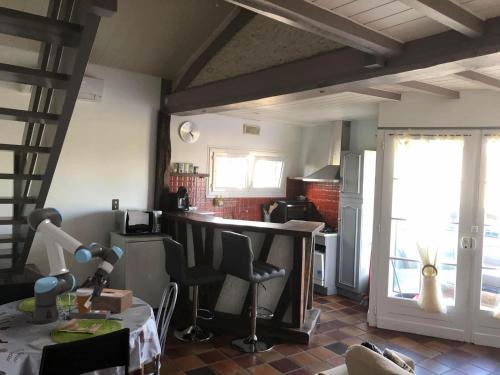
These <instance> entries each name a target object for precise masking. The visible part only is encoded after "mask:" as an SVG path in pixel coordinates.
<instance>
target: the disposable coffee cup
mask: <svg viewBox="0 0 500 375" xmlns="http://www.w3.org/2000/svg"><path fill="white" fill-rule="evenodd" d="M77 289H78V288H77ZM77 289H76V291H75V296H76V295H77V309H78V312H79V313H88V312H90V311H91V305H92V303H91V304H90V305H89V307H88V308H86V307H85V306H84V304H85V303H86V301H87V300H88V299H89V297H90V296H91V295H92V294H93V289H94V288H92V287H90V288H81V289H78V290H77ZM92 296H93V295H92Z"/></svg>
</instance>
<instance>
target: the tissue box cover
mask: <svg viewBox="0 0 500 375" xmlns="http://www.w3.org/2000/svg"><path fill="white" fill-rule="evenodd" d="M92 289H93V291H94V288H92ZM98 294H99V293H98ZM131 307H133V290H126V289H125V290H122V289H111V288H103V290H102V293H101V295H100V297H96V298H95V299H94V300H93V302H92V305H91V310H105V311H111V312H110V313H116V314H122V313H124V312H125V311H126V310H128V309H130V308H131Z"/></svg>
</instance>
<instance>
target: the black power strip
mask: <svg viewBox="0 0 500 375" xmlns="http://www.w3.org/2000/svg"><path fill="white" fill-rule="evenodd" d="M111 313H112V312H111V311H105V310H91V311H90V312H88V313H79V312H78V308H74V309H72V310H71V311H70V312H69V319H70V320H72V319H108V320H113V321H114V320H115V321H123V320H124V318H122V317H111Z"/></svg>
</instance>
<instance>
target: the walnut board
mask: <svg viewBox="0 0 500 375" xmlns="http://www.w3.org/2000/svg"><path fill="white" fill-rule="evenodd" d="M81 320H89V319H70V320H69V321H68V322H66V323H65V324H63V325H61V326H60V327H58V329H57V331H58V330H69V331H92V332H94V331H96V330H97V329H98V328H99V327H100V326H101V325H102V323H101V324H97V325H96V324H94V325H92V327H91V328H88V327H87V328H86V329H85V328H82V327H81V326H78V324H77V322H78V321H81Z"/></svg>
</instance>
